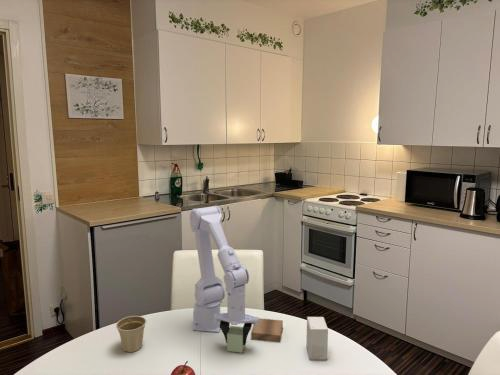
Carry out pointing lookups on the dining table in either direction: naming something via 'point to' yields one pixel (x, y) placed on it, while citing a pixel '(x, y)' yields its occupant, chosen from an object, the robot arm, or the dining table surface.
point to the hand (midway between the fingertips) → (236, 342)
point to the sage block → (235, 339)
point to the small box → (317, 338)
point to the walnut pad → (267, 330)
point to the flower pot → (131, 332)
